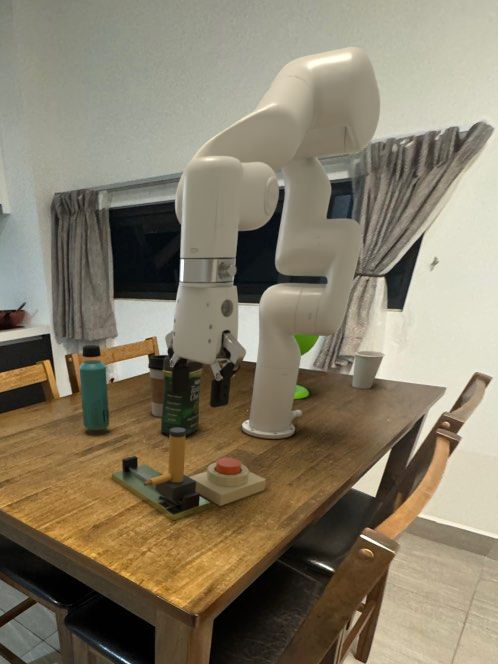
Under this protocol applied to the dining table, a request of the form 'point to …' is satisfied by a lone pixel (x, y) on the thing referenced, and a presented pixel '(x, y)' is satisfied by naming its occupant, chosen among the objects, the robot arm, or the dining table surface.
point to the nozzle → (174, 470)
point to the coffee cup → (157, 383)
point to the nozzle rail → (134, 483)
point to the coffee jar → (181, 400)
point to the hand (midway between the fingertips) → (198, 398)
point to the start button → (228, 466)
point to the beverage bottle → (94, 390)
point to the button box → (227, 485)
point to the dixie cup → (366, 368)
